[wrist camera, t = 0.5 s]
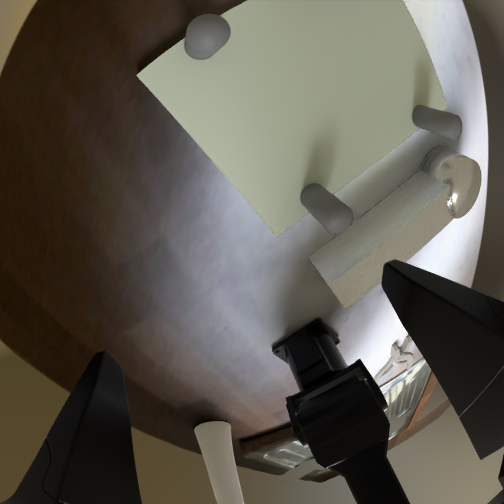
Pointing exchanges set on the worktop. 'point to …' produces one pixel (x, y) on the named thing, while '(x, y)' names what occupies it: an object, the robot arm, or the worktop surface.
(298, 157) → the peg board
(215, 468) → the cosmetic bottle
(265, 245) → the worktop surface
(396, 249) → the round-ended glossy bar
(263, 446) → the hand tool
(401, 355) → the pliers
